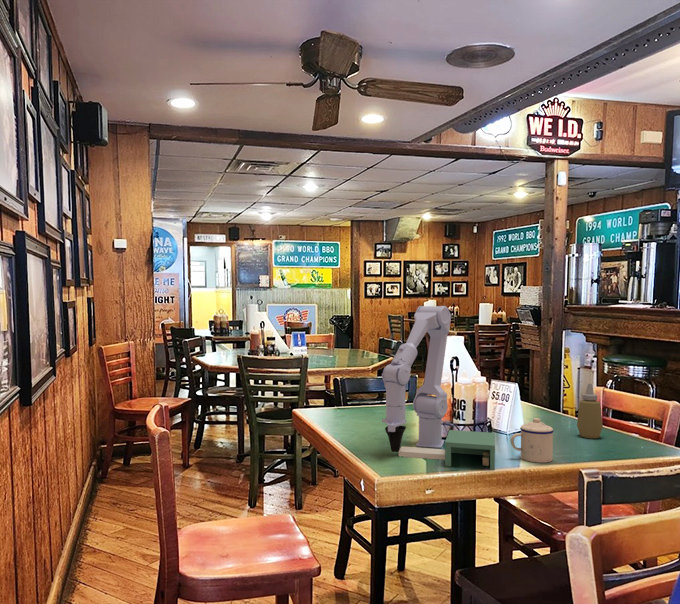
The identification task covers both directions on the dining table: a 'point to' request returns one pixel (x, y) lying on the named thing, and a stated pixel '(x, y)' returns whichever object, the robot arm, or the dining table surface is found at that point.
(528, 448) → the teacup with lid
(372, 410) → the dining table surface
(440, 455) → the beige rectangular block
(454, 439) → the shelf
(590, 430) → the squeeze bottle
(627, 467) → the dining table surface
